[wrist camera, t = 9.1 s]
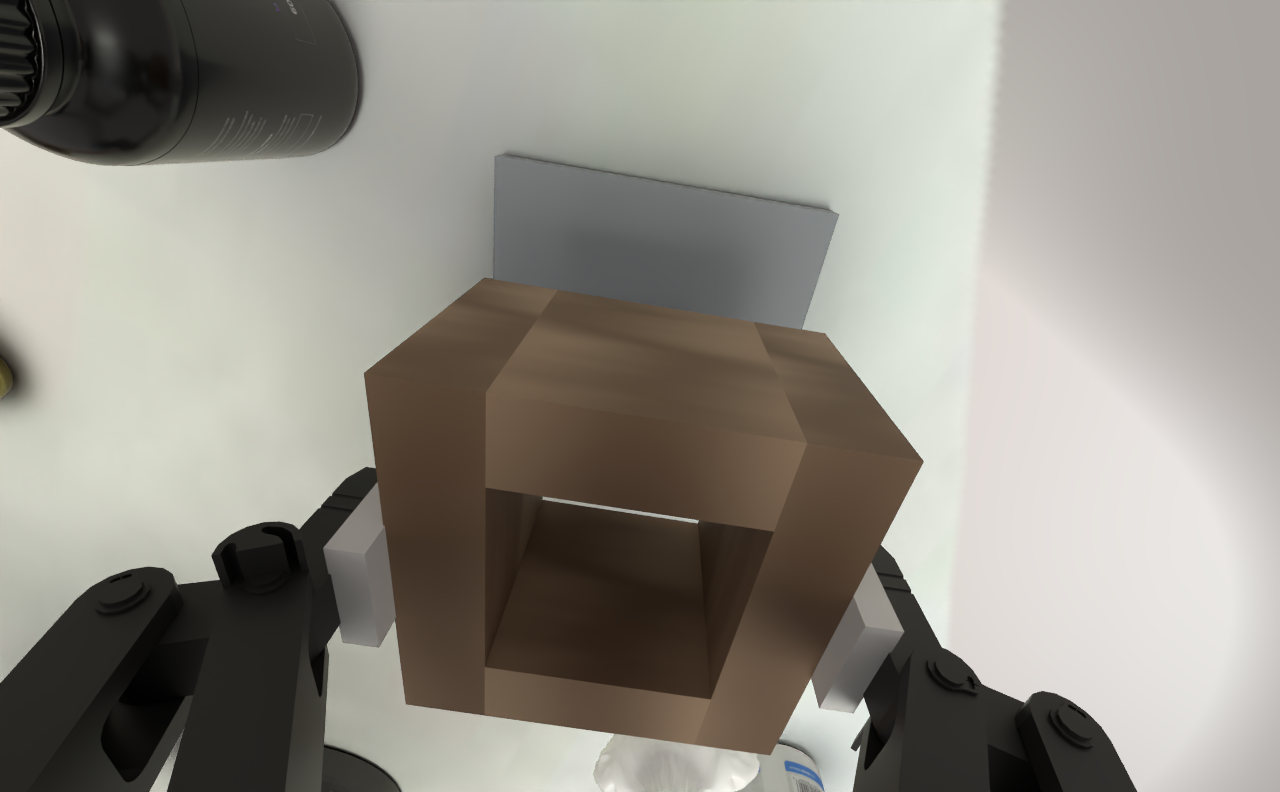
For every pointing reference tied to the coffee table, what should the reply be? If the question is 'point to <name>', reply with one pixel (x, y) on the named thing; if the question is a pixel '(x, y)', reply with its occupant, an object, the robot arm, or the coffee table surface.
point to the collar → (617, 541)
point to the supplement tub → (785, 772)
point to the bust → (671, 767)
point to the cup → (5, 379)
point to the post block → (657, 242)
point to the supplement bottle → (175, 79)
